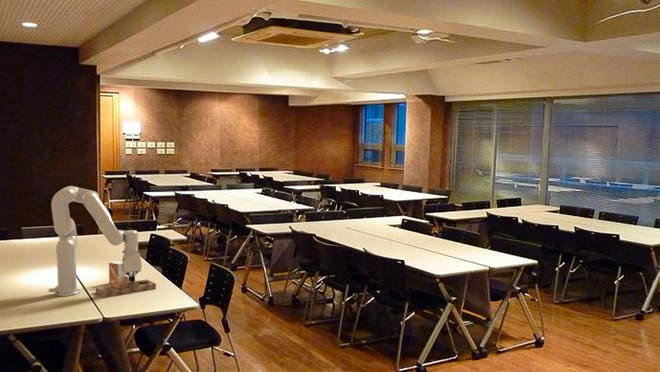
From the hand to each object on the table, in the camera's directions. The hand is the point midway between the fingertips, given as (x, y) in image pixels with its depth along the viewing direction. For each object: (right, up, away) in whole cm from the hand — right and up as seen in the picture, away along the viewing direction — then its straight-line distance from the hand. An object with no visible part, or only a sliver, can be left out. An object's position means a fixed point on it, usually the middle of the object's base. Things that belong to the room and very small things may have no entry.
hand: (131, 283), depth 328 cm
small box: (-13, -3, +14) cm, 19 cm away
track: (-3, -4, -2) cm, 5 cm away
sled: (-5, -1, -4) cm, 6 cm away
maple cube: (-4, -1, -3) cm, 5 cm away
